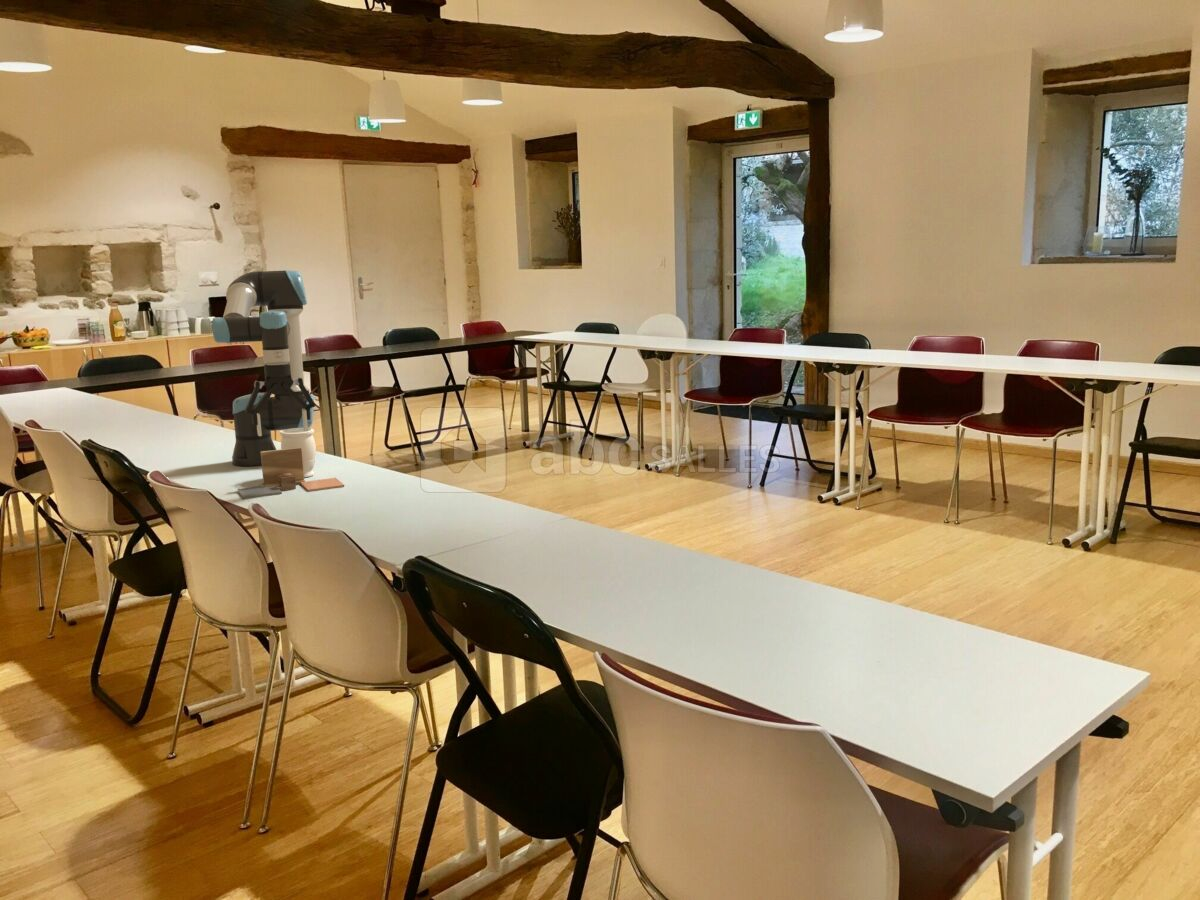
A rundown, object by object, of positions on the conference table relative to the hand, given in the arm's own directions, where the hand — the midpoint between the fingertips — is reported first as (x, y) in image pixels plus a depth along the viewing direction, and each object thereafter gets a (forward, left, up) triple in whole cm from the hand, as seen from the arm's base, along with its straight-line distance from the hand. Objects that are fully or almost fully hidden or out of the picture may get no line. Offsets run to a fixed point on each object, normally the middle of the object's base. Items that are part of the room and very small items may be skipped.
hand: (283, 433), depth 302 cm
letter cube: (0, 0, -17) cm, 17 cm away
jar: (-15, +7, -18) cm, 24 cm away
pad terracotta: (+2, +10, -17) cm, 20 cm away
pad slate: (0, -8, -17) cm, 19 cm away
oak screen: (-6, 0, -17) cm, 18 cm away
